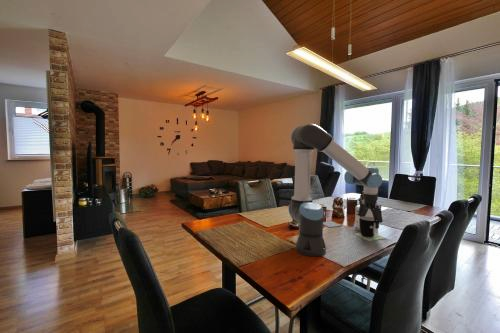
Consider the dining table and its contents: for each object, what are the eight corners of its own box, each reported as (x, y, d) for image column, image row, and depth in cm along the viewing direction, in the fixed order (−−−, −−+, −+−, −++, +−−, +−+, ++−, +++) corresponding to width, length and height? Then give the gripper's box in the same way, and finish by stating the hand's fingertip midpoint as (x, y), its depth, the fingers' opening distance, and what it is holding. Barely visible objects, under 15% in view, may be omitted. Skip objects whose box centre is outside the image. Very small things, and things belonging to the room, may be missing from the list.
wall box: (364, 231, 150) (365, 209, 149) (354, 226, 158) (355, 206, 157) (375, 229, 152) (376, 208, 151) (365, 225, 161) (365, 205, 160)
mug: (369, 238, 134) (370, 221, 133) (355, 234, 141) (356, 217, 141) (382, 235, 139) (382, 218, 139) (368, 231, 147) (368, 215, 147)
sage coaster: (368, 241, 133) (368, 240, 133) (353, 234, 144) (353, 233, 144) (385, 238, 136) (385, 238, 136) (369, 232, 148) (369, 231, 148)
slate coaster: (328, 227, 157) (328, 226, 157) (320, 223, 166) (320, 222, 166) (341, 226, 160) (341, 225, 159) (332, 221, 169) (332, 221, 169)
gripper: (391, 196, 129) (389, 236, 131) (362, 190, 150) (360, 224, 151) (380, 197, 127) (378, 237, 129) (352, 190, 148) (351, 225, 149)
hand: (369, 230), depth 140 cm, fingers closed on mug, 9 cm apart
